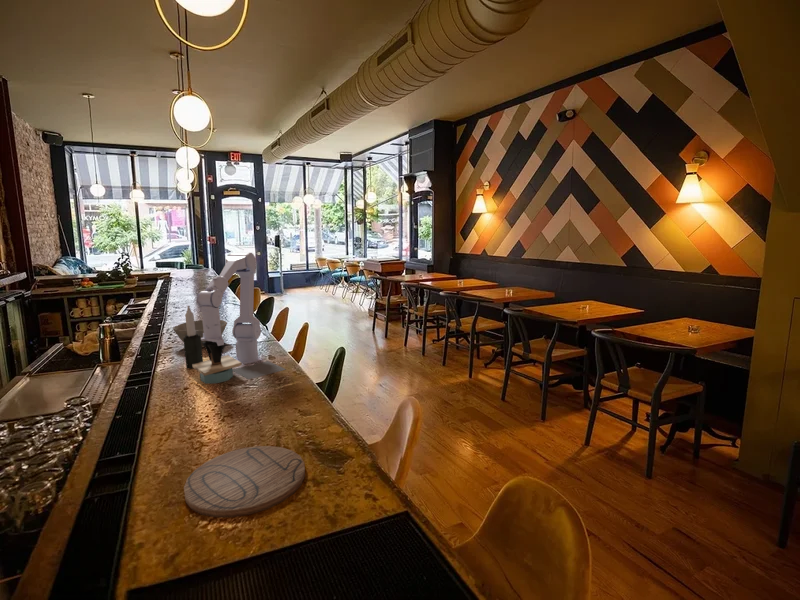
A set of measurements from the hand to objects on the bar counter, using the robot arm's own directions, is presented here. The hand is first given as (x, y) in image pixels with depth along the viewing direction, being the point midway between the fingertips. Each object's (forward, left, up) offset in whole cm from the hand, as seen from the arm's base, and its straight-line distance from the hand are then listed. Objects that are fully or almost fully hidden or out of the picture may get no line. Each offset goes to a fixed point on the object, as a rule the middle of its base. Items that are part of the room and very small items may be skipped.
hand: (215, 361), depth 162 cm
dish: (0, 0, -7) cm, 7 cm away
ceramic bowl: (-52, +13, -7) cm, 54 cm away
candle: (-20, -1, -7) cm, 21 cm away
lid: (0, 0, -2) cm, 2 cm away
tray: (+2, +15, -7) cm, 17 cm away
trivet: (+70, -20, -8) cm, 73 cm away
